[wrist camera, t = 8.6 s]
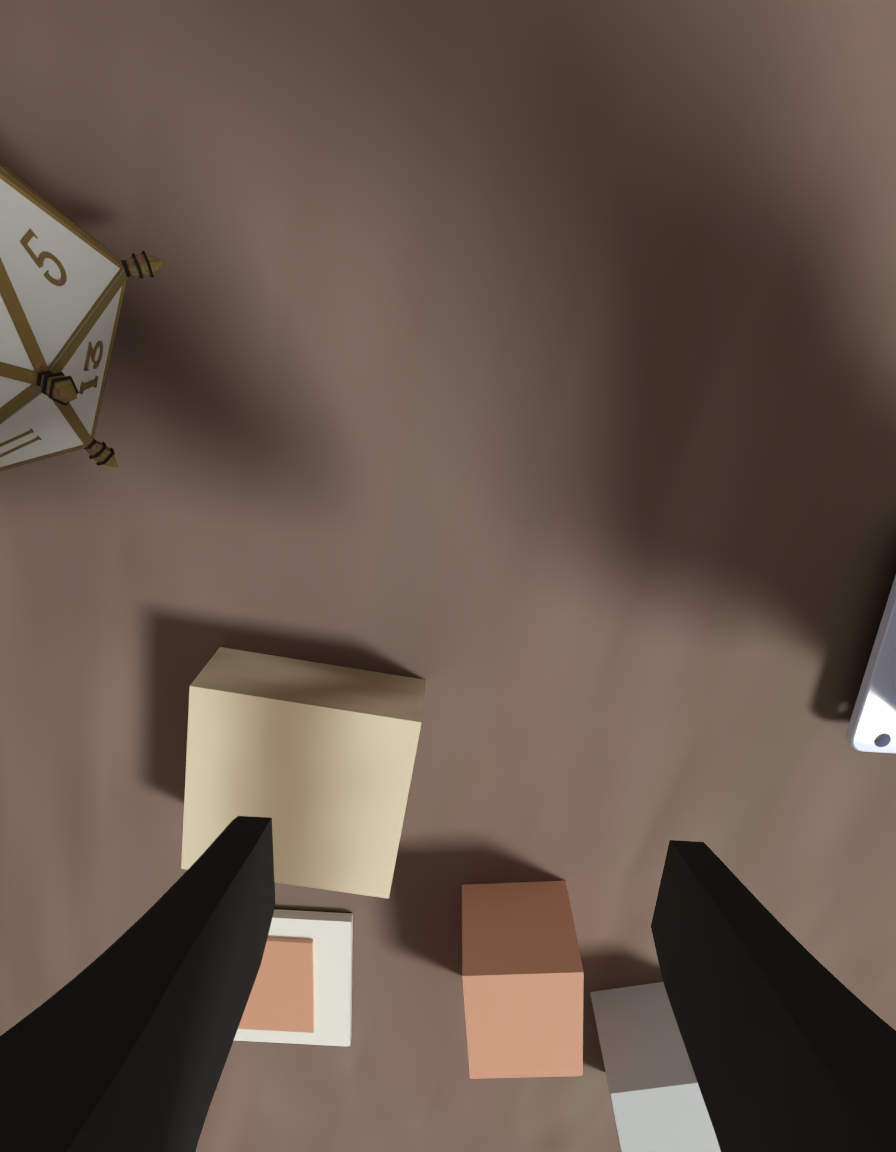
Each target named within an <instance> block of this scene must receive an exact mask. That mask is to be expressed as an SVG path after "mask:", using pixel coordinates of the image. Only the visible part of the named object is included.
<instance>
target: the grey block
mask: <svg viewBox="0 0 896 1152" xmlns="http://www.w3.org/2000/svg"><path fill="white" fill-rule="evenodd" d="M590 995H591V1000H592V1005H593V1010H594V1015H595V1021H596V1026H597V1031H598V1036H599V1041H600V1046H601V1051H602V1056H603V1062H604V1067H605V1072H606V1077H607V1082H608V1087H609V1092H610V1097H611V1102H612V1107H613V1112H614V1117H615V1122H616V1126H617V1131H618V1136H619V1141H620V1146H621V1151H622V1152H721V1150H720V1147H719V1144H718V1141H717V1137H716V1134H715V1131H714V1128H713V1125H712V1123H711V1120H710V1117H709V1114H708V1111H707V1108H706V1105H705V1102H704V1100H703V1097H702V1094H701V1091H700V1088H699V1085H698V1082H697V1080H696V1077H695V1074H694V1071H693V1068H692V1065H691V1062H690V1059H689V1057H688V1054H687V1051H686V1048H685V1045H684V1042H683V1039H682V1037H681V1034H680V1031H679V1028H678V1025H677V1022H676V1019H675V1016H674V1013H673V1010H672V1007H671V1004H670V1001H669V998H668V995H667V992H666V989H665V986H664V982H658V983H651V984H644V985H637V986H630V987H623V988H616V989H609V990H601V991H594V992H590Z"/></svg>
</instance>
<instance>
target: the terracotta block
mask: <svg viewBox="0 0 896 1152" xmlns="http://www.w3.org/2000/svg"><path fill="white" fill-rule="evenodd" d="M462 978H463V991H464V1004H465V1017H466V1031H467V1044H468V1057H469V1071H470V1079H482V1078H520V1077H558V1076H583V983H584V972H583V967H582V962H581V957H580V951H579V946H578V941H577V936H576V931H575V926H574V921H573V916H572V911H571V906H570V901H569V896H568V891H567V886H566V881H542V882H517V883H492V884H466V885H462Z"/></svg>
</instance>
